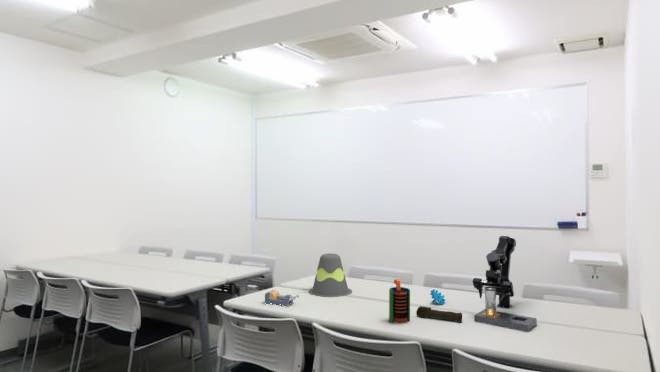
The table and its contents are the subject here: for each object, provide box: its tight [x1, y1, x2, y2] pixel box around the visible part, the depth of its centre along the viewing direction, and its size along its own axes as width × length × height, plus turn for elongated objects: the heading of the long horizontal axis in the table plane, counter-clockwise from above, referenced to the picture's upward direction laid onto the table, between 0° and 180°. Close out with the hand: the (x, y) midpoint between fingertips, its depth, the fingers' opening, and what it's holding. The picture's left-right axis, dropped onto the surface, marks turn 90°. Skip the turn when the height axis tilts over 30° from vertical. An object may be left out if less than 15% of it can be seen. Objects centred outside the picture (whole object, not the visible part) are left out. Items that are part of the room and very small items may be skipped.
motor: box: [388, 278, 411, 324], centre depth 213 cm, size 10×9×20 cm
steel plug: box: [484, 286, 497, 315], centre depth 212 cm, size 5×5×13 cm
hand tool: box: [415, 305, 463, 324], centre depth 216 cm, size 23×5×6 cm, turn 61°
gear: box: [429, 289, 446, 306], centre depth 246 cm, size 11×6×10 cm
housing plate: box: [473, 309, 538, 333], centre depth 208 cm, size 14×25×3 cm, turn 49°
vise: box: [264, 289, 300, 307], centre depth 246 cm, size 18×10×7 cm, turn 67°
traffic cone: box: [308, 253, 353, 298], centre depth 275 cm, size 28×28×24 cm
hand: (490, 299), depth 211 cm, fingers open, 9 cm apart
